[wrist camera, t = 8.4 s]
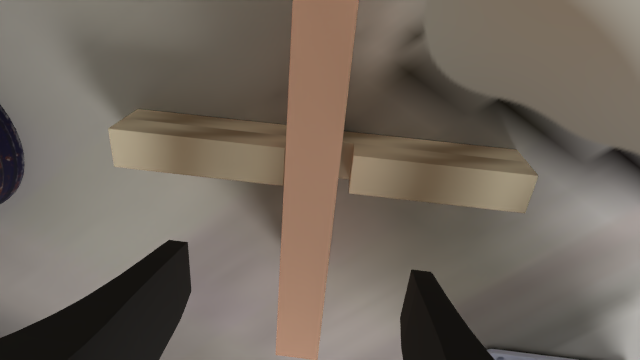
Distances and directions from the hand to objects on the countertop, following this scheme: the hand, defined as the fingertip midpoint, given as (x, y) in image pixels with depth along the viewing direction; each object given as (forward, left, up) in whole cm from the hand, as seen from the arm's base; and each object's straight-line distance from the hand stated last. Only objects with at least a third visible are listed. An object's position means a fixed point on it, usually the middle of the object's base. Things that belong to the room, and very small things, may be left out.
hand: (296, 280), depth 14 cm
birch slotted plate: (0, 0, -10) cm, 10 cm away
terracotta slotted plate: (0, 0, -10) cm, 10 cm away
